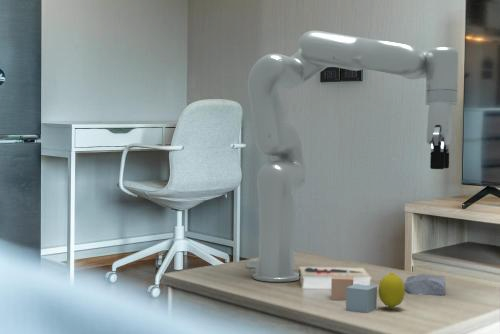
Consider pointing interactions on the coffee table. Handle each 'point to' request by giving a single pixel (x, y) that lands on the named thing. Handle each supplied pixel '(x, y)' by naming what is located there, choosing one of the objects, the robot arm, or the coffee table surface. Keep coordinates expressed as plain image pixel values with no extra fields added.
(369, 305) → the slate block
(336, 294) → the terracotta block
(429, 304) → the coffee table surface
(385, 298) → the lemon
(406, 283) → the stone block
